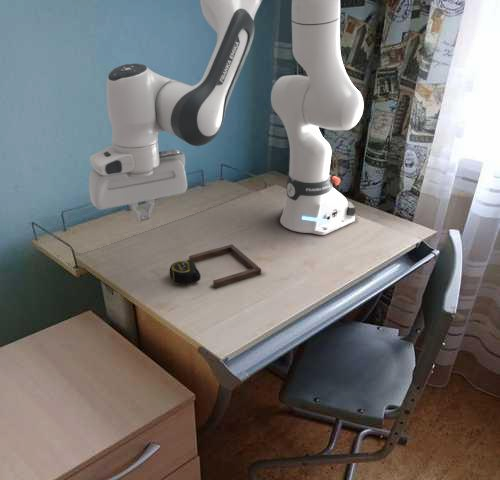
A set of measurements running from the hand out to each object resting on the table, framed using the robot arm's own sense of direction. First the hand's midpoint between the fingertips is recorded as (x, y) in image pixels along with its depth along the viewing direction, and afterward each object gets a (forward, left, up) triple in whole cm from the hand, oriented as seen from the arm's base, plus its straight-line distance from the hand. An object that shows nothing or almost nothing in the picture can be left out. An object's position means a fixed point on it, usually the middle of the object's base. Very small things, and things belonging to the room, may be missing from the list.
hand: (143, 219), depth 110 cm
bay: (-19, 0, -18) cm, 26 cm away
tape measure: (-9, 0, -18) cm, 20 cm away
